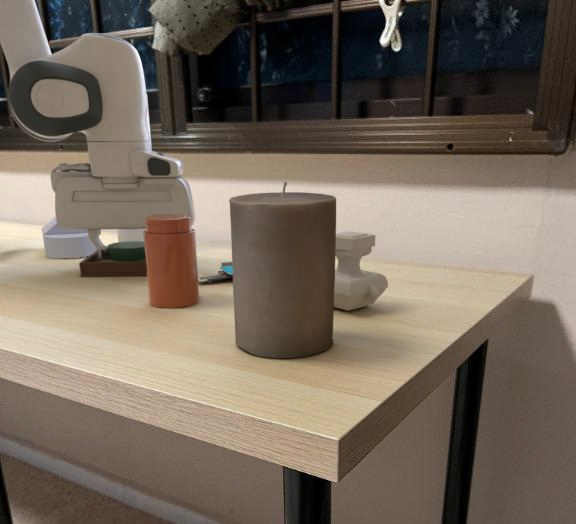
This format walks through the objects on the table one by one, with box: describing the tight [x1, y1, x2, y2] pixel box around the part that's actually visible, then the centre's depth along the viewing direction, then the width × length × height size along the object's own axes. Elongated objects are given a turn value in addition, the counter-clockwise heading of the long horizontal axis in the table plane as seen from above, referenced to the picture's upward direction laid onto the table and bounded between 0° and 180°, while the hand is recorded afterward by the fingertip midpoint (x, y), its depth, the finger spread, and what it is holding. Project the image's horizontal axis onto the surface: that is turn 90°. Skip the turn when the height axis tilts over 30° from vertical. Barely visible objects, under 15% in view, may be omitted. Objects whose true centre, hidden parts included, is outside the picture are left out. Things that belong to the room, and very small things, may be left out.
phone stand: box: [198, 261, 233, 285], centre depth 86 cm, size 20×12×2 cm, turn 114°
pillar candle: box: [228, 181, 337, 359], centre depth 57 cm, size 10×10×15 cm
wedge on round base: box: [41, 216, 100, 259], centre depth 105 cm, size 9×7×13 cm
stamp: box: [334, 230, 389, 312], centre depth 70 cm, size 9×7×8 cm
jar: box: [143, 214, 200, 309], centre depth 72 cm, size 6×6×10 cm
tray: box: [78, 250, 147, 278], centre depth 93 cm, size 12×13×2 cm
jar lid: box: [107, 241, 145, 261], centre depth 93 cm, size 7×7×2 cm
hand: (130, 258), depth 93 cm, fingers closed on jar lid, 6 cm apart
